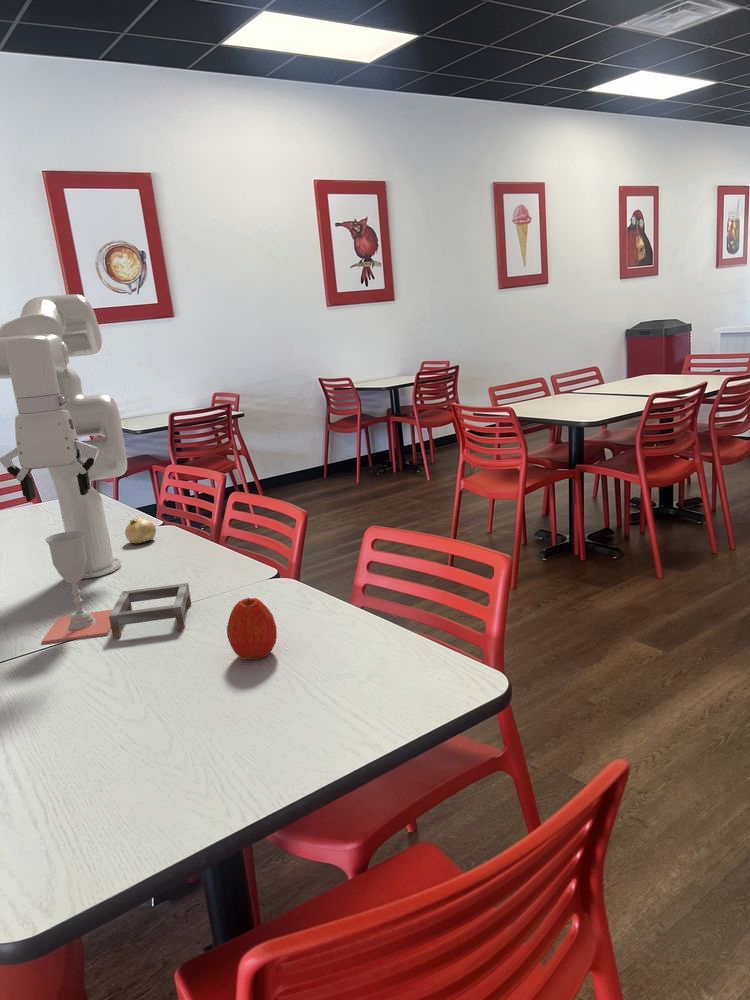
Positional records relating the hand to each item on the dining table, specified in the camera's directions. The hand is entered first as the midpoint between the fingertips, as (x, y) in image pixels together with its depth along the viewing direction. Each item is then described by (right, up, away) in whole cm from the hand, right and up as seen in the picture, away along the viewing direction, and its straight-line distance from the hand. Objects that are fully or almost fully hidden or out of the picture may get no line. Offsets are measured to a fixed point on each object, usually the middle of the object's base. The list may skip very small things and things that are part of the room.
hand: (58, 496), depth 133 cm
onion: (-4, -12, +61) cm, 63 cm away
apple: (+39, -27, -13) cm, 49 cm away
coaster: (+2, -25, +6) cm, 26 cm away
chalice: (+2, -25, +6) cm, 26 cm away
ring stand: (+16, -24, +6) cm, 30 cm away
